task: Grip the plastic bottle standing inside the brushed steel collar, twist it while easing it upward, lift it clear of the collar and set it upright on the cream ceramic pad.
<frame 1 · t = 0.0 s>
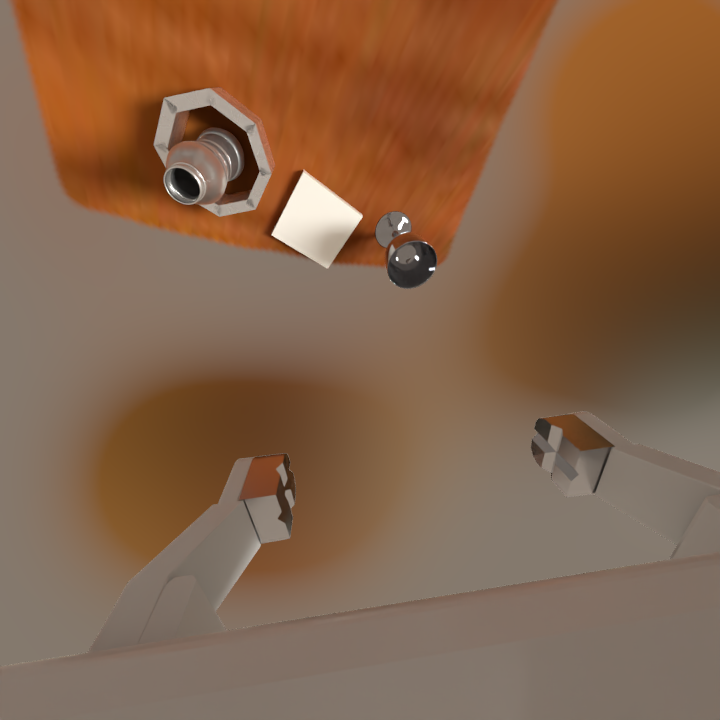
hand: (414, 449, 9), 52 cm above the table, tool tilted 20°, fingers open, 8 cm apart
plastic bottle: (224, 152, 45), resting in steel collar
wine glass: (393, 230, 56), on the table
steel collar: (224, 152, 45), on the table
ceramic pad: (316, 222, 53), on the table
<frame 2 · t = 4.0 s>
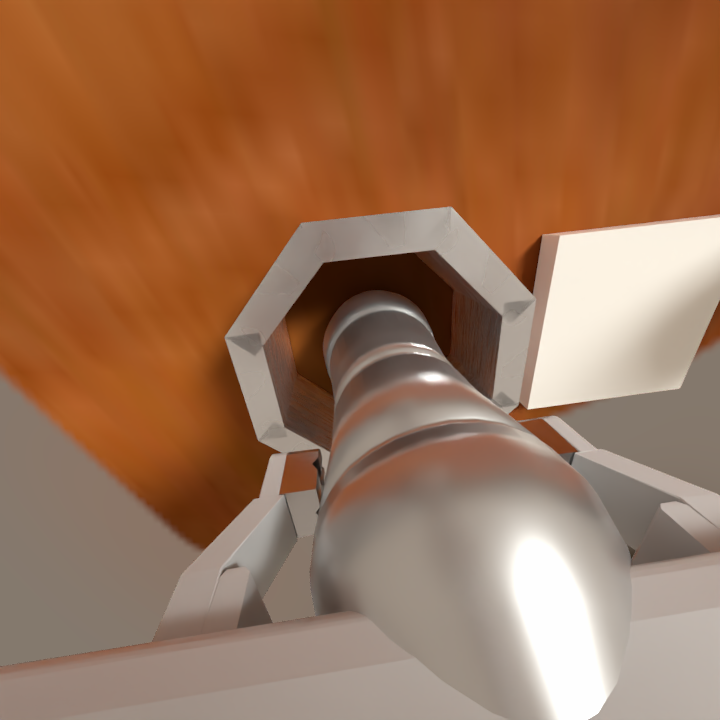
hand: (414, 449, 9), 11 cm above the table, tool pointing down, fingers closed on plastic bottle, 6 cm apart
plastic bottle: (371, 332, 20), resting in steel collar, touching gripper
steel collar: (371, 332, 19), on the table
ceramic pad: (609, 316, 20), on the table
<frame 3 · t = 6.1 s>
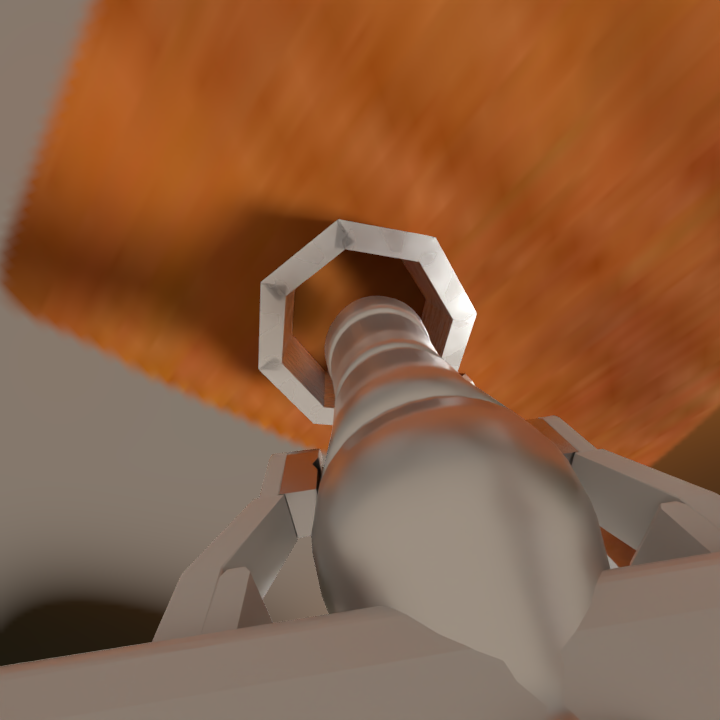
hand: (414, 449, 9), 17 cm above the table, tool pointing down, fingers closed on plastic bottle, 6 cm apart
plastic bottle: (371, 336, 21), point 5 cm above the table, touching gripper
wine glass: (538, 475, 36), on the table
steel collar: (358, 316, 25), on the table
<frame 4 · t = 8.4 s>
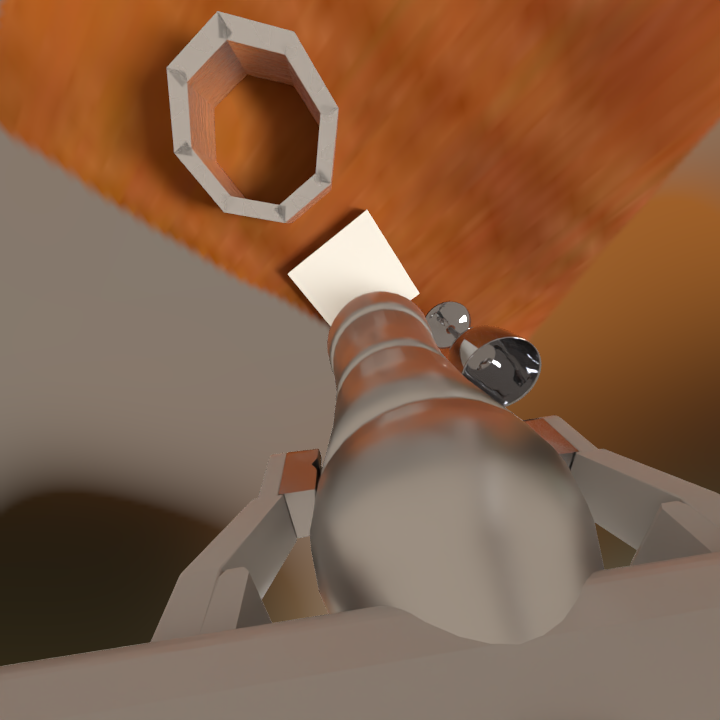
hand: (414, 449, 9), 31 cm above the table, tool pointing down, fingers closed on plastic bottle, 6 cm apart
plastic bottle: (374, 332, 20), point 19 cm above the table, touching gripper
wine glass: (446, 325, 42), on the table
steel collar: (269, 146, 31), on the table
ceramic pad: (354, 281, 38), on the table
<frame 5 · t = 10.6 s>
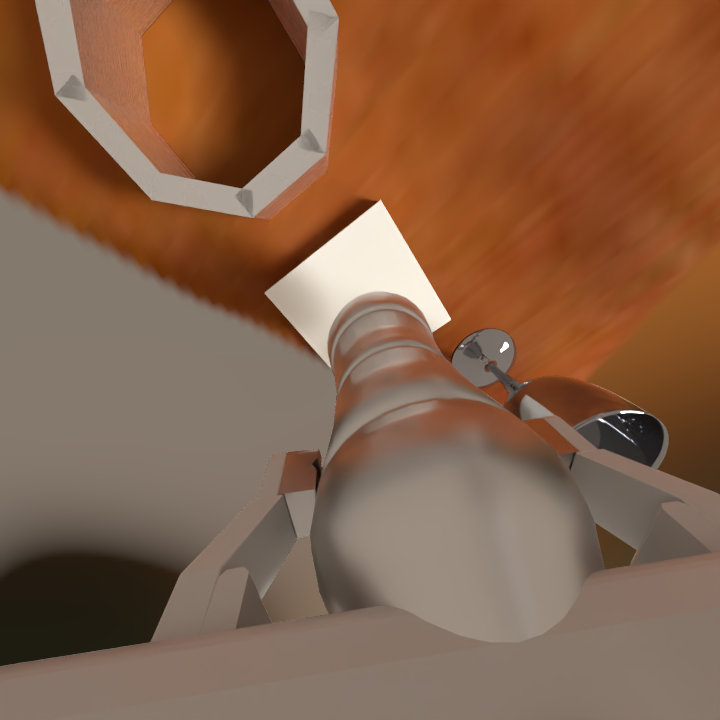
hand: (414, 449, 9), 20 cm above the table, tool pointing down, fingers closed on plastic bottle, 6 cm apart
plastic bottle: (374, 332, 20), point 7 cm above the table, touching gripper
wine glass: (482, 359, 31), on the table
steel collar: (232, 101, 20), on the table
ceramic pad: (360, 302, 27), on the table
when the fingers open (14 cm above the table, at t = 12.7 s): plastic bottle moves 1 cm, resting on ceramic pad.
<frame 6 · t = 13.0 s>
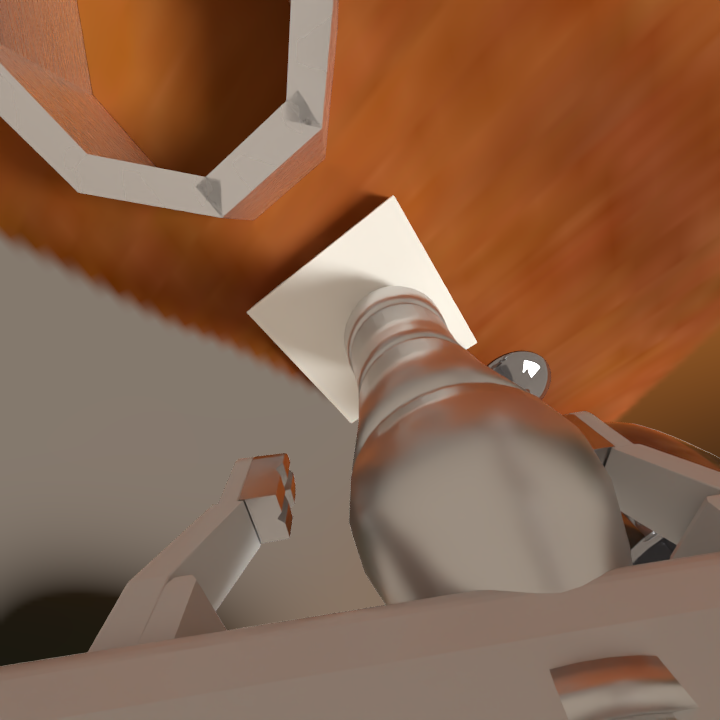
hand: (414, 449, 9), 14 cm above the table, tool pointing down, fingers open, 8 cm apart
plastic bottle: (387, 326, 21), point 1 cm above the table, touching ceramic pad, gripper
wine glass: (510, 386, 26), on the table
steel collar: (199, 65, 15), on the table
ceramic pad: (366, 321, 22), on the table
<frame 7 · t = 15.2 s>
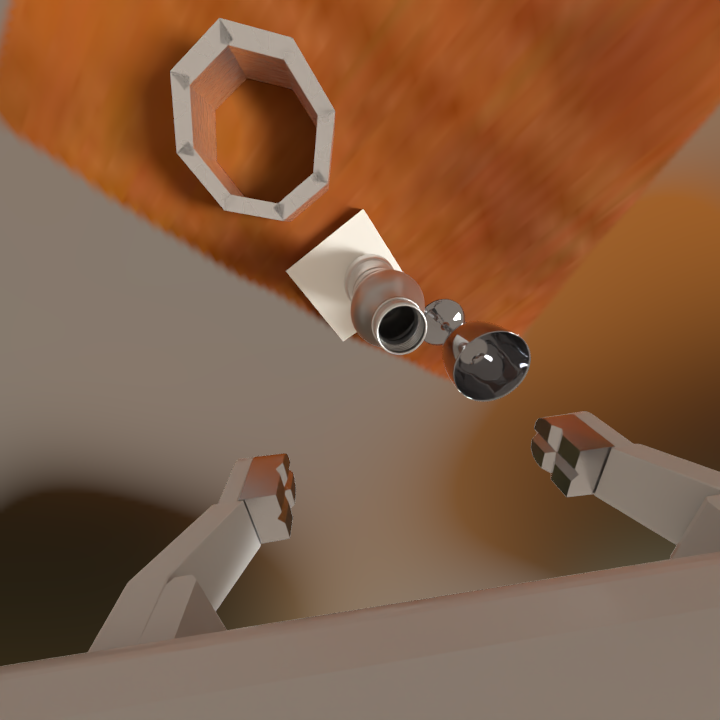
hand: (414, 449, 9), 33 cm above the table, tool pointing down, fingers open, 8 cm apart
plastic bottle: (367, 279, 38), point 1 cm above the table, touching ceramic pad
wine glass: (440, 322, 43), on the table
steel collar: (268, 147, 32), on the table
ceramic pad: (351, 279, 39), on the table
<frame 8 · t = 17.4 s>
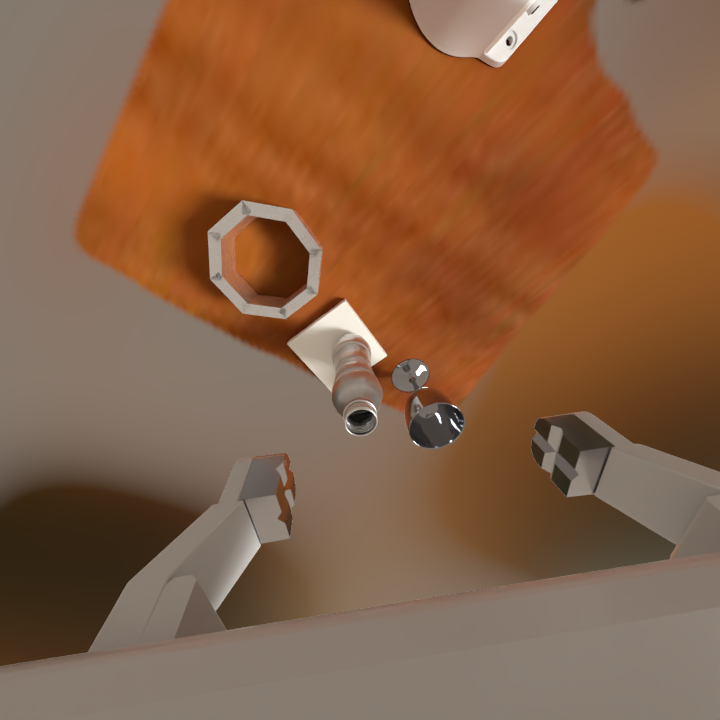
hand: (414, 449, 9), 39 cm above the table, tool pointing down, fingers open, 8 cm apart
plastic bottle: (350, 348, 49), point 1 cm above the table, touching ceramic pad
wine glass: (410, 375, 54), on the table
steel collar: (274, 259, 43), on the table
ceramic pad: (338, 346, 50), on the table
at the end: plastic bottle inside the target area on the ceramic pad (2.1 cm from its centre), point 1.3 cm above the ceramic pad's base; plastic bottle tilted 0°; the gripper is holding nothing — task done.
